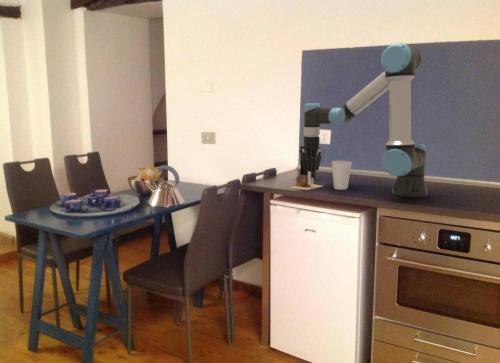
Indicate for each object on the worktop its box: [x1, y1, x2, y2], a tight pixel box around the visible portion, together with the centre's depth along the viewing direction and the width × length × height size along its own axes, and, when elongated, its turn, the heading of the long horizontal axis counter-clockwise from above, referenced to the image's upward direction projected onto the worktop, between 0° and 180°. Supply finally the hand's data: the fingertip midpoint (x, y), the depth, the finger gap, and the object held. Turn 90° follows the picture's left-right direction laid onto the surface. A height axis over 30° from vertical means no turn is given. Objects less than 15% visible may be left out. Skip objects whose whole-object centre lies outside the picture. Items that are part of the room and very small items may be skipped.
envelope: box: [290, 183, 324, 191], centre depth 227 cm, size 10×14×1 cm
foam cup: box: [331, 160, 352, 190], centre depth 222 cm, size 10×9×13 cm
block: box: [296, 174, 311, 187], centre depth 228 cm, size 5×5×5 cm
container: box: [299, 145, 317, 182], centre depth 245 cm, size 9×9×18 cm
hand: (310, 184), depth 225 cm, fingers closed
